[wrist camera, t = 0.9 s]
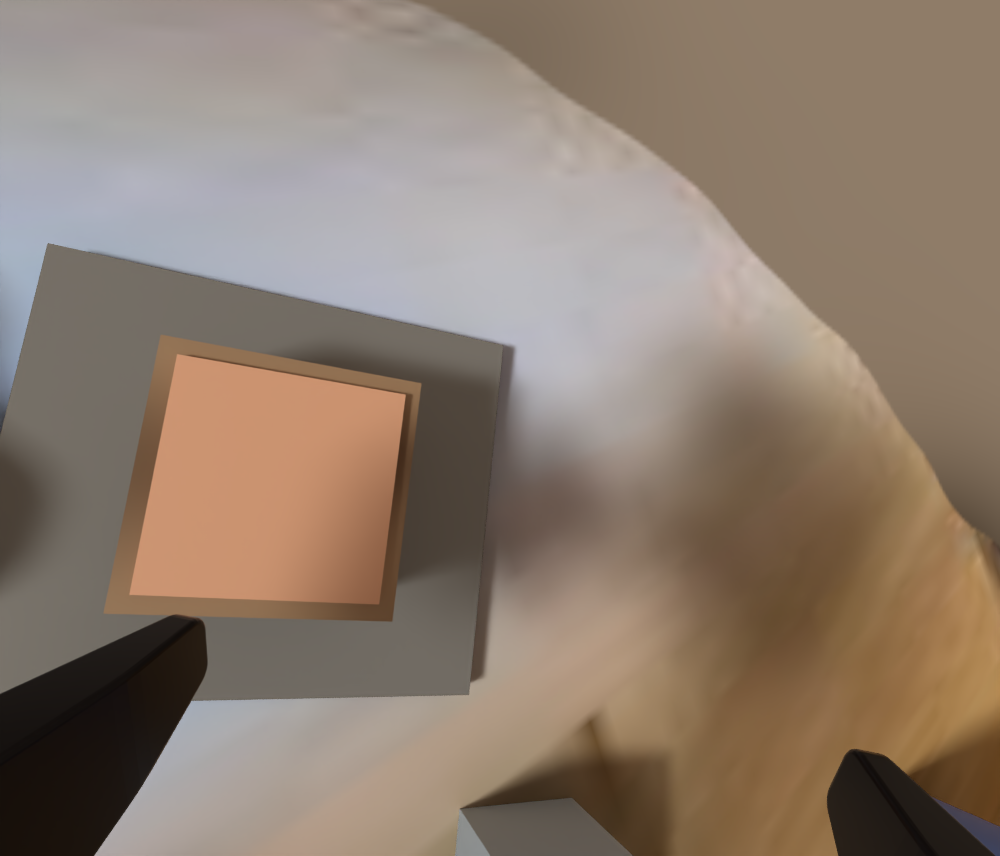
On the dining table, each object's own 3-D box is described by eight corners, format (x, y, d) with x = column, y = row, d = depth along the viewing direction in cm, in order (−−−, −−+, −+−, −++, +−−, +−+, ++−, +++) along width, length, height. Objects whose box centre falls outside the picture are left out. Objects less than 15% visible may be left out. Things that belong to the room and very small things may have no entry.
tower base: (460, 687, 23) (528, 749, 17) (-49, 695, 17) (-211, 795, 11) (494, 351, 25) (564, 305, 19) (57, 255, 19) (-29, 149, 13)
